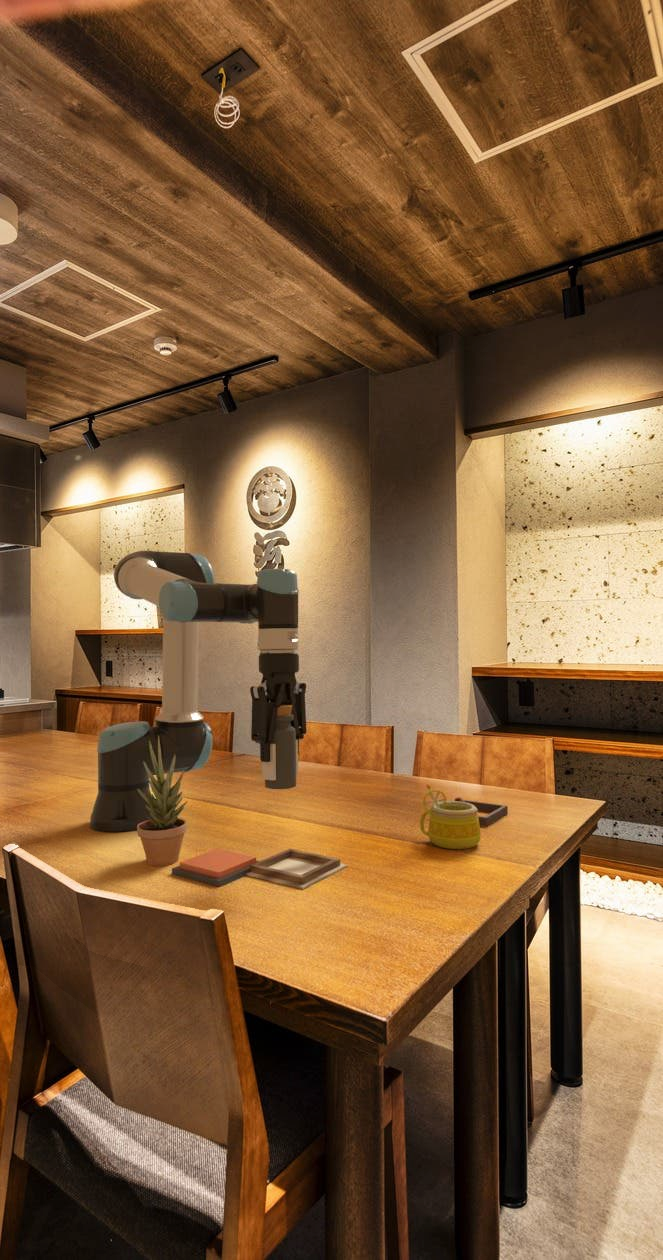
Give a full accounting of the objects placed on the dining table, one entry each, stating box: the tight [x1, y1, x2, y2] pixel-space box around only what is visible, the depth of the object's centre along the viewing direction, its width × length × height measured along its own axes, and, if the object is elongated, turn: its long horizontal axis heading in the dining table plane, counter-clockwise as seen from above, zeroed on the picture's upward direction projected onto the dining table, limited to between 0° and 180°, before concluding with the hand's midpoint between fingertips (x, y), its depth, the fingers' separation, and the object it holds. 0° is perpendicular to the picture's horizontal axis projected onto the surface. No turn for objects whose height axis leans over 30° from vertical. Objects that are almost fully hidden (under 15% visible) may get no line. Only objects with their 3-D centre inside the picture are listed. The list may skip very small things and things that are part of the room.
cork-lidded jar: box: [264, 705, 297, 790], centre depth 126 cm, size 6×6×15 cm
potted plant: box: [136, 735, 188, 867], centre depth 132 cm, size 10×10×25 cm
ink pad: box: [171, 848, 260, 888], centre depth 126 cm, size 12×12×2 cm
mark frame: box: [245, 848, 349, 890], centre depth 126 cm, size 14×14×2 cm
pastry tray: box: [451, 798, 509, 828], centre depth 164 cm, size 14×14×2 cm
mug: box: [419, 784, 481, 850], centre depth 142 cm, size 13×11×12 cm
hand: (280, 776), depth 126 cm, fingers closed on cork-lidded jar, 6 cm apart
